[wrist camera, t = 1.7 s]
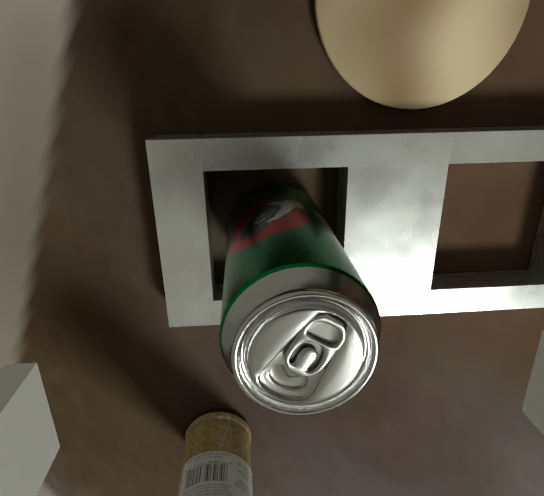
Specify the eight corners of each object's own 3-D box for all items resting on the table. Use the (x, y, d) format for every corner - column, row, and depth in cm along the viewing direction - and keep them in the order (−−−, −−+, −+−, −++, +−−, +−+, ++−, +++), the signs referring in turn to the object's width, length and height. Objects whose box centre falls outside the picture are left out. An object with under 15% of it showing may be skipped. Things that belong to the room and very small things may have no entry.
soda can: (212, 241, 23) (186, 389, 12) (257, 162, 21) (275, 247, 10) (289, 280, 24) (330, 447, 13) (336, 208, 23) (428, 327, 12)
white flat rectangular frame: (606, 123, 22) (640, 127, 20) (560, 289, 26) (585, 305, 24) (153, 134, 21) (145, 140, 19) (174, 308, 24) (169, 327, 22)
